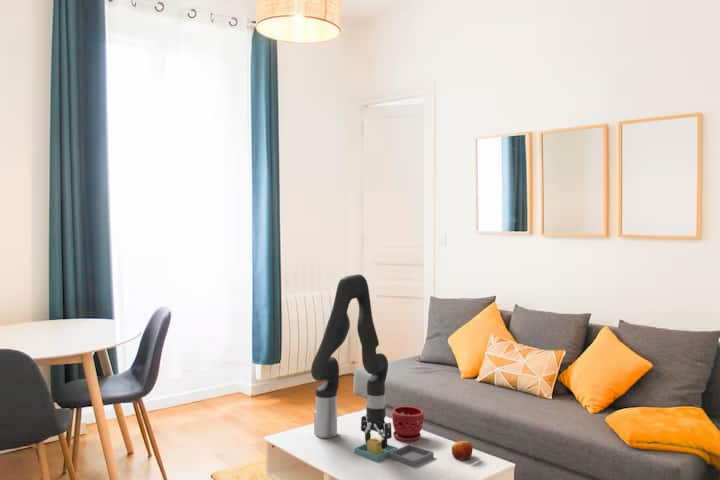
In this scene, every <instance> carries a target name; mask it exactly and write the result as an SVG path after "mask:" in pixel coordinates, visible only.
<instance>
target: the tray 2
mask: <svg viewBox="0 0 720 480" xmlns="http://www.w3.org/2000/svg"><path fill="white" fill-rule="evenodd" d="M434 455H435V454H434V452H433V451H430V450H429V449H424V448H422V447H418V446H416V445H413V444H406V445H404V446H402V447H399V448H398V449H397V450H394V451H392V452H389V457H388V458H389V459H391V460H394V461H397V462H400V463H402V464H405V465H407V466H410V467H413V468H414V467H417V466H418V465H420V464H423V463H425V462H428V461H429V460H431V459H433V458H434V457H435V456H434Z"/></svg>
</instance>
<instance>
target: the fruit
mask: <svg viewBox="0 0 720 480" xmlns="http://www.w3.org/2000/svg"><path fill="white" fill-rule="evenodd" d="M473 449H474V448H473V445H472V443H471V442H470V441H467V440H459V441H456V442H455V443H453V444H452V446H451V454H452V456H453V458H454V459H456V460H458V461H464V460H471V457H472V455H473Z"/></svg>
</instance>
